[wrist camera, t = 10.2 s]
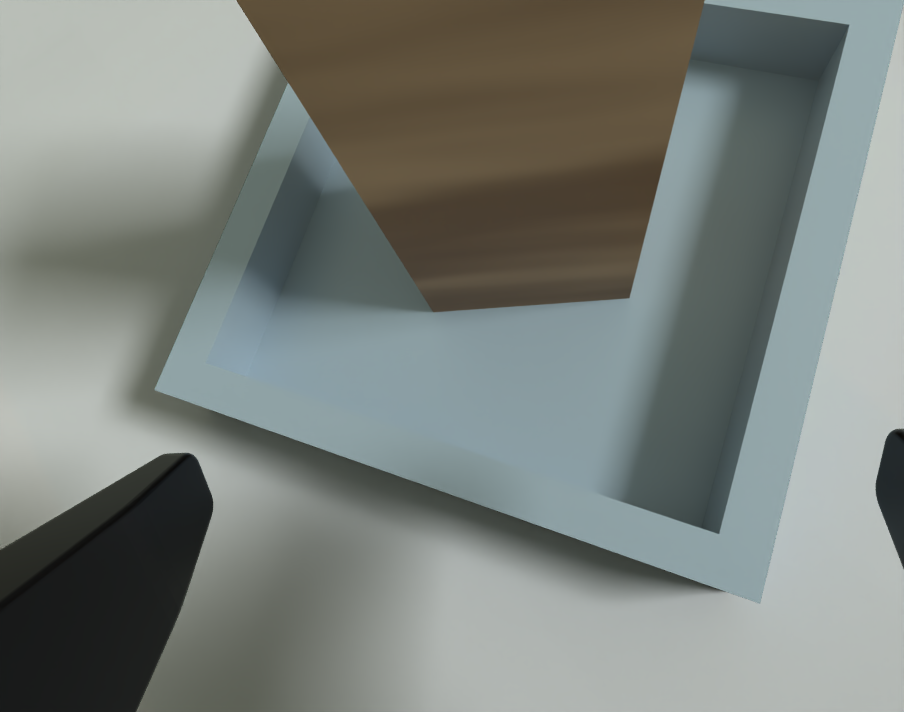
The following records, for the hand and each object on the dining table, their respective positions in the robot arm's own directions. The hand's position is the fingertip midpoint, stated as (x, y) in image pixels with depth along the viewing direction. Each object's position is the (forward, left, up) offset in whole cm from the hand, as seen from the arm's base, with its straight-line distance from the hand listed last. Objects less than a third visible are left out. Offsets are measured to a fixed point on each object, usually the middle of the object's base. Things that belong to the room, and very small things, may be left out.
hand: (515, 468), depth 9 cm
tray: (+6, +2, -8) cm, 10 cm away
